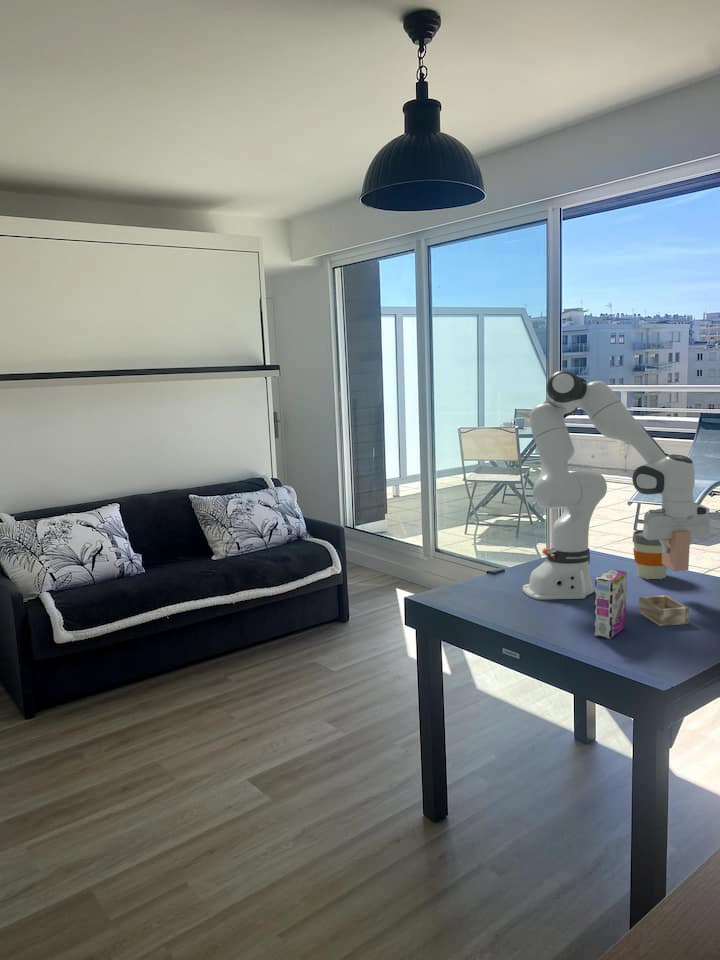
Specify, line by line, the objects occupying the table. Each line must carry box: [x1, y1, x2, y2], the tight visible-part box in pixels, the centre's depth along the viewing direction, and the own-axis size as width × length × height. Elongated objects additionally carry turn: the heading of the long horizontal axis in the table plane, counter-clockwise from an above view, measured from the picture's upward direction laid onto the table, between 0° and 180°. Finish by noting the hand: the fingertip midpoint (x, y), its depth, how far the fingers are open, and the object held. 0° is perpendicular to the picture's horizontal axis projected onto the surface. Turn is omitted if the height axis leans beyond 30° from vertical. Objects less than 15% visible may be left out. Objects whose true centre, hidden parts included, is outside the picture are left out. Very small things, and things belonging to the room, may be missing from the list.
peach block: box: [662, 530, 691, 572], centre depth 224 cm, size 4×8×12 cm, turn 4°
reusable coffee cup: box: [632, 529, 668, 580], centre depth 249 cm, size 13×13×15 cm
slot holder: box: [638, 594, 690, 627], centre depth 209 cm, size 8×12×5 cm
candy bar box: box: [594, 569, 627, 640], centre depth 200 cm, size 11×5×16 cm, turn 141°
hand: (675, 552), depth 225 cm, fingers closed on peach block, 4 cm apart
